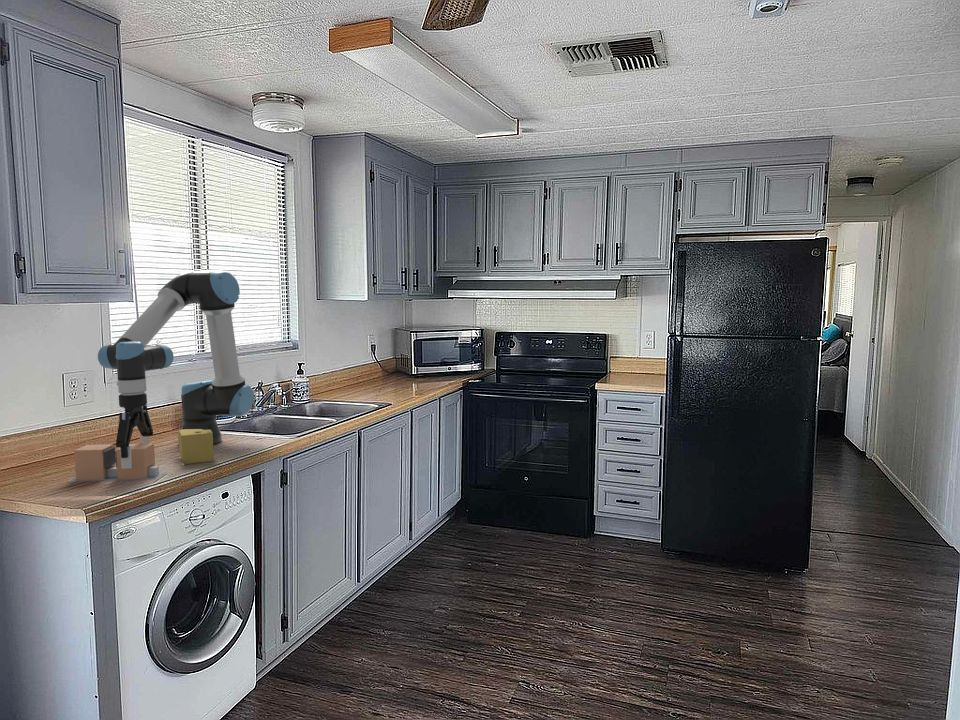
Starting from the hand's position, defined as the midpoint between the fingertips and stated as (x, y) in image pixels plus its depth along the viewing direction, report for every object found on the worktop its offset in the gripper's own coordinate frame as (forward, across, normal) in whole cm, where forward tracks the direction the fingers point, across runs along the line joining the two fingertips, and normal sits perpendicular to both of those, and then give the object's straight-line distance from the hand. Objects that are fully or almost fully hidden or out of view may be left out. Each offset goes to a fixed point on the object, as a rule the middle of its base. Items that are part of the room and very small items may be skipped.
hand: (136, 462), depth 206 cm
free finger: (+4, 0, 0) cm, 4 cm away
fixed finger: (+4, 0, -12) cm, 13 cm away
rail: (+5, 0, -6) cm, 8 cm away
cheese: (+5, -23, +10) cm, 25 cm away
